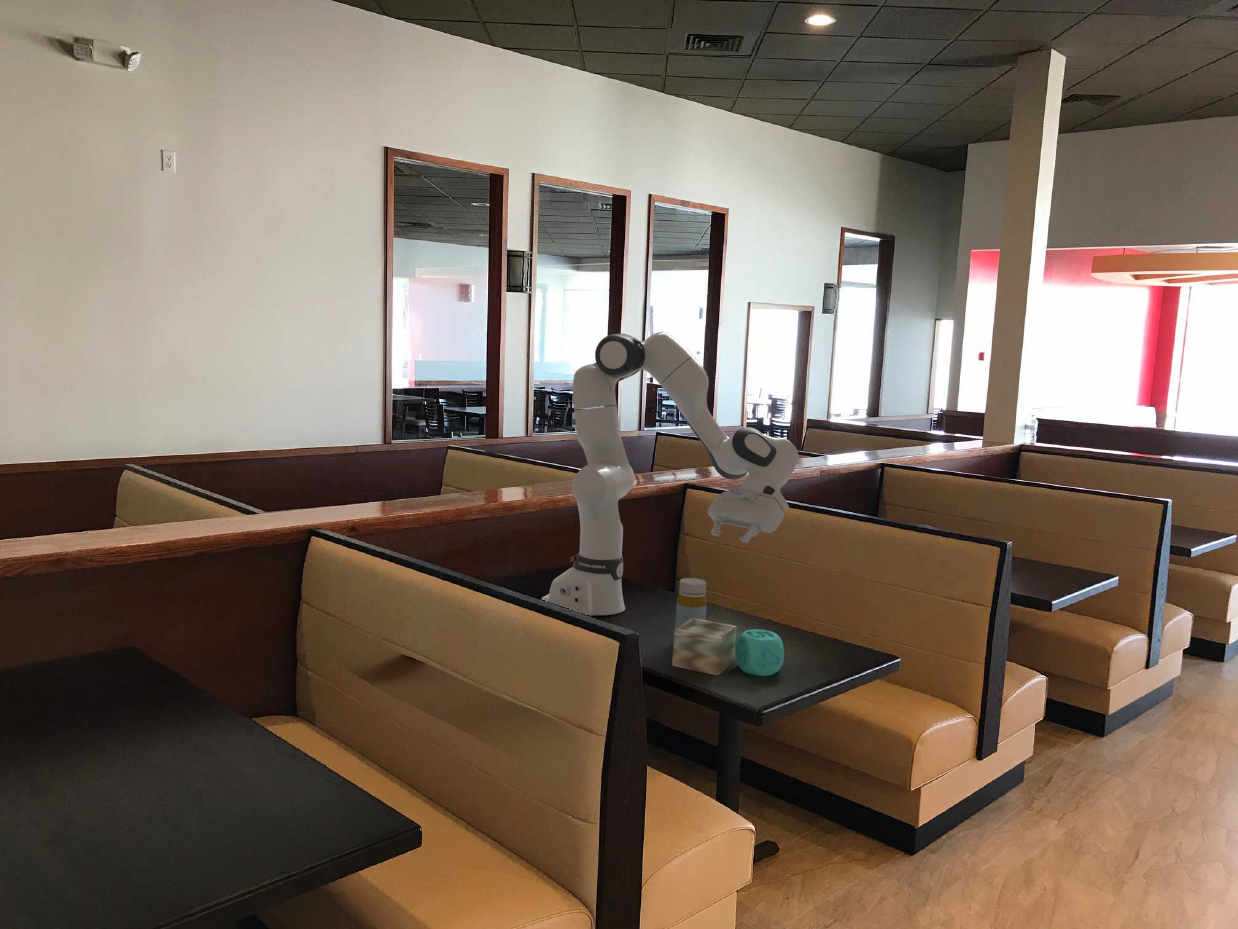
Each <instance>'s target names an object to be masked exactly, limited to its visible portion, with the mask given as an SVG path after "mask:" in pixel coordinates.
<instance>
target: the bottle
mask: <svg viewBox="0 0 1238 929" xmlns="http://www.w3.org/2000/svg"><path fill="white" fill-rule="evenodd" d="M678 588H679V589H678V590H679V594H678V596H677V598H676V610H675V611H676V612H675V626H674V627H675V628H674V629H676V628H677V627H679V626H681V625H682V624H684V623H685V622H687V621H688V620H690V619H691V618H696V619H701V620H707V617H706V616H707V606H708V605H707V603H708V602H707V598H706V595H707V594H706V592H707V581H706V580H704V579H702V578H701V579H700V578H697V577H696V578H695V577H686V578H685V577H683V578H681V579H680V581H679V587H678Z"/></svg>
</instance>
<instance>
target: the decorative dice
mask: <svg viewBox="0 0 1238 929" xmlns="http://www.w3.org/2000/svg"><path fill="white" fill-rule="evenodd" d="M735 656H736V661H737V665H738V667H739V669H740V670H741V671H742V672H743V673H746V674H748V675H752V676H757V677H768V676H769V677H770V676H773V675H775V674H776V673H777V672H779V671H780V670H781V668H782V666H783V664H784V660H785V648H784V643H783V641H782V639H781V637H780V635H778V634H777V633H776V632H773V631H770V630H766V629H757V628H753V629H748V630H745V631H743V632H742V633H741V634H740V635H739V636H738V638H737V641H736V642H735Z"/></svg>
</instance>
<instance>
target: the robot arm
mask: <svg viewBox="0 0 1238 929" xmlns="http://www.w3.org/2000/svg"><path fill="white" fill-rule="evenodd" d="M594 357H595V358H594V359H595V362H593V363H591V364H586V365H582V366H581V367H580V368H578V369H577V370H576V371H575V373H574V374H573V380H572V381H573V382H572V404H573V410H574V411H573V412H574V422H575V429H576V436H577V437H576V439H577V441H578V443H579V445H580V446H581V447H582V450H583V452H584V455H585V458H586V461H587V465H584V466H583V467H582V468H581V469H580V470H578V471H577V473H576V474H575V475H574V476H573V479H572V481H571V491H572V494H573V497H574V499H575V500H576V502H577V509H578V514H579V524H580V532H579V552H578V553H576V554H574V555H573V556H571V557H570V560H569V562H573V564H572V567H570V568H568V569H567V570H566V571H564V572H563V573H562V574H560V575H559V576H557V577H556V578H554V579H553V580H552V582H551V584H550V589H549V593H548V594H546V595H545V596H542V598H541V599H542V600H545V601H546V602H550V603H553V604H556V605H559V606H562V607H565V608H569V610H573V611H575V612H579V613H583V614H585V615H589V616H590V617H591V616H609V615H616V614H620V613H622V612H624V611H625V610H626V607H625V602H624V597H623V586H622V579H623V578H622V577H623V573H624V572H623V571H624V555H622V554H623V553H622V552H623V536H624V527H623V524H622V521H621V518H620V512H619V499H622V498H624V497H626V495H627V494H628V493H629V492H630V491H631V489H632V488H633V486H634V484H635V472H634V470H633V468H632V466H631V465H630V463H629V459H628V455H627V454H626V451H625V450H626V449H625V447H624V443H623V440H622V436H621V431H620V423H619V416H618V415H619V414H618V405H617V400H616V399H617V398H616V386H617V383H619V382H621V381H624V380H625V379H627V378H630V377H633V376H634V375H636V374H638V372H640V371H645V372H647V373H648V374H650V375H651V377H653V379H654V380H655V381H657V383H658V384H659V385H660V386H661V388H662V389H663V390H664V391H665V392H666V394H667V395H668V396H669V398H670V399H671V400H672V401H673V403H674V404H675V406H676V407H677V409H678V411H679V413H680V414H681V416H682V418H683V419H684V421H685V422H686V424H687V425H688V426H689V428H690V429H691V431H692V432H693V433H694V435H695V436H696V437H697V439H698V440H699V441H700V443H701V444H702V446H703V447H704V448H705V450H706V452H708V455H709V456H710V459H711V463H712V465H713V467H714V469H715V471H716V472H717V474H719V476H721V477H723V478H725V479H727V480H733V481H735V480H741V479H742V478H744V477H745V476H746V475H747V476H746V478H745V479H744V481H743V482H742V484H741V485H740V487H739V489H738V490H734V489H728V490H726V491H723V492H722V493H720V494H719V495H718V496H717V498H715V500H714V501H713V502H712V503H711V504H710V506H709V507H708V508H707V515H708V516H709V517H710V518H711V520H712V521H713V526H712V529H711V530H710V533H711V535H712V536H713V537H714V536H715V537H719V536H720V534H722V530H721V526H724V524H726V525H731V526H735V527H741V528H745V529H749V530H747V531H746V532H742V533H741V536H740V537H739V540H740V541H741V542H742V543H745V544H748V543H749V542H750V541H751V539H753V537H756V536H757V535H758V534H760V532H764V533H768V534H771V533H773V532H775V531H776V530H778V528H779V526H780V525H781V523H782V521H783V520H784V518H785V513H786V512H787V511H789V508H790V507H789V504H788V502H787V500H786V499H785V497H784V496H783V494H782V492H781V488H782V487H783V486H784V485H786V484H787V483H788V481H789V479H790V477H792V474H793V473H794V471H795V468H796V467H797V465H798V462H799V451H798V450H797V447H796V446H795V445H794V444H793V443H792V442H791V441H790V440H789V439H786V438H784V437H774V436H770V435H767V434H765V433H762V432H761V431H760V430H758V429H757V428H753V427H751V426H744V427H741V428H739V429H737V430H736V431H735V432H734V433H733V434H731V435H730V437H729V436H728V435H727V434H726V433H725V432H724V431H723V429H722V428H721V427H720V425H719V423H718V422H717V420H715V418H714V417H713V416H712V414H711V412H710V410H709V408H708V403H707V402H708V400H707V399H708V398H707V397H708V389H709V382H710V381H709V376H708V374H707V372H706V370H705V368H704V367H703V366H702V364H701V363H700V362H699V361H698V359H697V358H696V357H695V356H694V355H693V354H692V353H691V352H690V351H689V349H687V348H686V346H684V344H682V343H681V342H680V341H678V339H676V338H675V337H674V336H673V335H671V334H670V333H668V332H665V331H658V332H655V333H653V334H651V335H649V336H648V337H647V338H646V339H644V340H642V341H641V339H637V338H636V337H634V336H632V335H630V334H627V333H612V334H609V335H607V336H605V337H603V338H602V339H601V340H600V341H599V343H597V346H596V348H595V352H594ZM589 616H588V617H589Z"/></svg>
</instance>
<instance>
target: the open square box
mask: <svg viewBox="0 0 1238 929" xmlns="http://www.w3.org/2000/svg"><path fill="white" fill-rule="evenodd" d="M737 627H738V626H737V625H733V624H727V623H723V622H715V621H711V620H707V619H706V620H701V619H696V618H691V619H690V620H688V621H687V622H685V623H684V624H682V625H681V626H679V627H677V628H676V629H675V628H674V629H673V630H674V631H673V644H672V646H673V647H672V648H673V649H672V661H671V664H672V665H671V666H673V667H676V668H682V669H685V670H690V671H695V672H699V673H704V674H709V675H713V676H719V675H720V674H722V673H723V672H724V671H725V670H726V669H727V668H729V667H730V666H731V665H732V664H733V663H734V662H735V656H736V643H737V641H736V639H737Z"/></svg>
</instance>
